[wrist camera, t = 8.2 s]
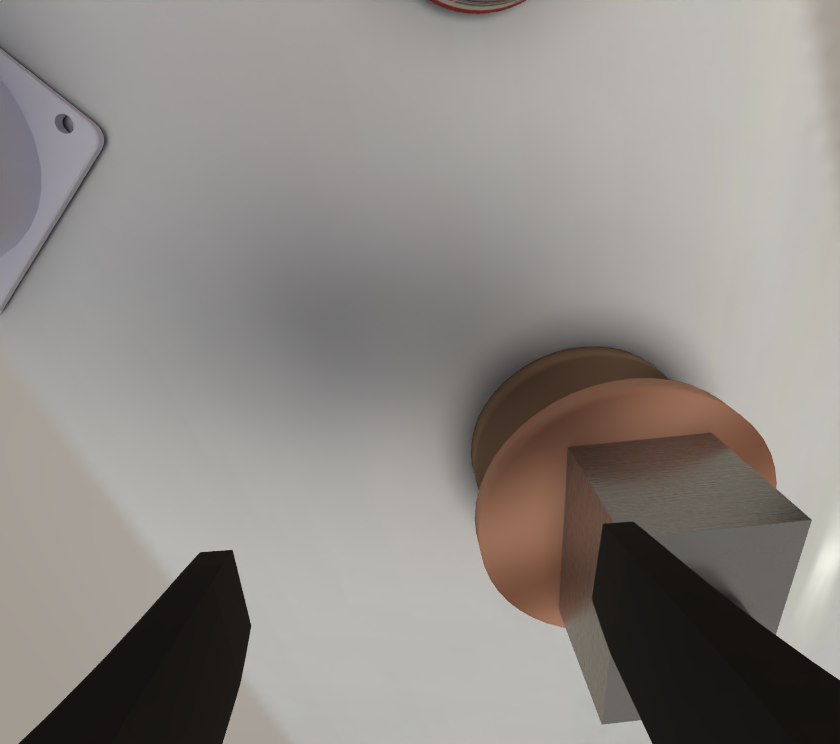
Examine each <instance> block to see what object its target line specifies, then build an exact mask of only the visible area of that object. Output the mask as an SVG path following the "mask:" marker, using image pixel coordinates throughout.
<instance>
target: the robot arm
mask: <svg viewBox="0 0 840 744" xmlns="http://www.w3.org/2000/svg"><path fill="white" fill-rule="evenodd" d="M66 115H67V116H69V117H70V118H71V120H72V121H73V124H74V129H73V131H72V132H71V133H69V132H67V130H66V129H65V128H64V126H63V123H62V122H63V118H64V117H65V116H66ZM103 145H104V136H103V134H102V132H101V129H100V128H99V127H98V126H97V125H96V124H95V123H94V122H93V121H92V120H90V119H89V118H88V117H87V116H85V115H84V114H83V113H82V112H80V111H79V110H78V109H76V108H75V107H74V106H73V105H71V104H70V103H69V102H68V101H66V100H65V99H64V98H63V97H61V96H60V95H59V94H58V93H56V92H55V91H54V90H53V89H51V88H50V87H49V86H47V85H46V84H45V83H44V82H42V81H41V80H40V79H39V78H37V77H36V76H35V75H34V74H32V73H31V72H30V71H29V70H27V69H26V68H25V67H24V66H22V65H21V64H20V63H18V62H17V61H16V60H15V59H13V58H12V57H11V56H10V55H8V54H7V53H6V52H5V51H3V50H2V49H1V48H0V313H1V312H2V310H3V309H4V307H5V306H6V304H7V302H8V301H9V299H10V298H11V296H12V294H13V293H14V291H15V289H16V288H17V286H18V285H19V283H20V281H21V280H22V278H23V276H24V275H25V273H26V272H27V270H28V268H29V267H30V265H31V263H32V262H33V260H34V259H35V257H36V255H37V254H38V252H39V250H40V249H41V247H42V246H43V244H44V242H45V241H46V239H47V237H48V236H49V234H50V233H51V231H52V229H53V228H54V226H55V224H56V223H57V221H58V220H59V218H60V216H61V215H62V213H63V211H64V210H65V208H66V207H67V205H68V203H69V202H70V200H71V198H72V197H73V195H74V194H75V192H76V190H77V189H78V187H79V186H80V184H81V182H82V181H83V179H84V177H85V176H86V174H87V173H88V171H89V169H90V168H91V166H92V164H93V163H94V161H95V160H96V158H97V156H98V155H99V153H100V151H101V150H102V148H103ZM592 602H593V605H594V608H595V611H596V614H597V617H598V620H599V623H600V626H601V629H602V632H603V635H604V637H605V640H606V643H607V646H608V649H609V651H610V654H611V656H612V658H613V660H614V663H615V665H616V667H617V669H618V671H619V673H620V676H621V678H622V680H623V682H624V684H625V686H626V688H627V691H628V693H629V695H630V697H631V699H632V701H633V703H634V705H635V708H636V710H637V712H638V714H639V716H640V718H641V720H642V722H643V724H644V727H645V729H646V731H647V733H648V735H649V737H650V739H651V741H652V743H653V744H840V680H839V679H837V678H836V677H834V676H833V675H831V674H830V673H828V672H827V671H825V670H824V669H822V668H821V667H820V666H818V665H817V664H815V663H814V662H812V661H811V660H809V659H808V658H807V657H805V656H804V655H802V654H801V653H800V652H798V651H797V650H796V649H794V648H793V647H791V646H790V645H789V644H787V643H786V642H785V641H783V640H782V639H780V638H779V637H778V636H776V635H775V634H774V633H772V632H771V631H769V630H768V629H767V628H765V627H764V626H763V625H761V624H760V623H759V622H757V621H756V620H755V619H753V618H752V617H751V616H750V615H748V614H747V613H746V612H744V611H743V610H742V609H740V608H739V607H738V606H737V605H735V604H734V603H733V602H731V601H730V600H729V599H728V598H726V597H725V596H724V595H723V594H721V593H720V592H719V591H718V590H716V589H715V588H714V587H713V586H711V585H710V584H709V583H708V582H706V581H705V580H704V579H703V578H701V577H700V576H699V575H698V574H697V573H695V572H694V571H693V570H692V569H690V568H689V567H688V566H687V565H686V564H684V563H683V562H682V561H681V560H680V559H678V558H677V557H676V556H675V555H674V554H672V553H671V552H670V551H669V550H668V549H666V548H665V547H664V546H663V545H662V544H660V543H659V542H658V541H657V540H656V539H654V538H653V537H652V536H651V535H650V534H648V533H647V532H646V531H645V530H643V529H642V528H641V527H640V526H638V525H637V524H636V523H635V522H619V523H605V524H603V527H602V533H601V540H600V547H599V554H598V560H597V567H596V574H595V581H594V587H593V594H592ZM250 629H251V623H250V619H249V615H248V611H247V607H246V603H245V599H244V595H243V591H242V587H241V583H240V579H239V574H238V570H237V566H236V562H235V558H234V554H233V550H226V551H212V552H200V553H199V554H198V555H197V556H196V557H195V558H194V560H193V561H192V562H191V563H190V564H189V565H188V566H187V567H186V568H185V569H184V571H183V572H182V573H181V574H180V575H179V576H178V577H177V578H176V580H175V581H174V582H173V583H172V584H171V585H170V587H169V588H168V589H167V590H166V591H165V592H164V593H163V594H162V596H161V597H160V598H159V599H158V600H157V601H156V602H155V603H154V605H153V606H152V607H151V608H150V609H149V610H148V611H147V612H146V613H145V615H144V616H143V617H142V618H141V619H140V620H139V621H138V622H137V623H136V625H135V626H134V627H133V628H132V629H131V630H130V631H129V632H128V633H127V634H126V635H125V637H123V639H122V640H121V641H120V642H119V643H118V644H117V645H116V646H115V647H114V648H113V649H112V650H111V652H110V653H109V654H108V655H107V656H106V657H105V658H104V659H103V660H102V661H101V662H100V663H99V664H98V665H97V666H96V668H94V670H93V671H92V672H91V673H90V674H89V675H88V676H87V677H86V678H85V679H84V680H83V681H82V682H81V683H80V684H79V685H78V686H77V687H76V688H75V689H74V690H73V691H72V692H71V693H70V694H69V695H68V696H67V697H66V698H65V699H64V700H63V701H62V702H61V703H60V704H59V705H58V706H57V707H56V708H55V709H54V710H53V711H52V712H51V713H50V714H49V715H48V716H47V717H46V718H45V719H44V720H43V721H42V722H41V723H40V724H39V725H38V726H37V727H36V728H35V729H33V730H32V731H31V732H30V733H29V734H28V735H27V736H26V737H25V738H24V739H23V740H22V741H21V742H20V743H19V744H222V743H223V740H224V736H225V733H226V730H227V726H228V723H229V720H230V717H231V713H232V710H233V707H234V703H235V700H236V696H237V693H238V690H239V686H240V683H241V678H242V673H243V667H244V662H245V657H246V652H247V646H248V641H249V635H250Z"/></svg>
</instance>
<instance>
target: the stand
mask: <svg viewBox="0 0 840 744" xmlns="http://www.w3.org/2000/svg"><path fill="white" fill-rule="evenodd" d="M702 433H713V434H714V435H715V436H716V437H717V438H718V439H719V440H721V441H722V442H723V443H724V444H725V445H726V446H727V447H729V448H730V449H731V450H732V451H733V452H734V453H736V454H737V455H738V456H739V457H740V458H741V459H742V460H744V461H745V462H746V463H747V464H748V465H749V466H750V467H752V468H753V469H754V470H755V471H756V472H757V473H758V474H760V475H761V476H762V477H763V478H764V479H765V480H767V481H768V482H769V483H770V484H771V485H772V486H773V487H775V488H776V483H777V482H776V473H775V466H774V463H773V459H772V456H771V453H770V451H769V449H768V447H767V445H766V443H765V441H764V439H763V438H762V437H761V435H760V434H759V433H758V432H757V430H756V429H755V428H754V427H753V426H752V425H751V424H750V423H749V422H748V421H747V420H746V419H744V418H743V417H742V416H741V415H740V414H738V413H737V412H736V411H734V410H733V409H732V408H730V407H729V406H728V405H726V404H725V403H724V402H722V401H721V400H719V399H718V398H716V397H715V396H713V395H711V394H710V393H708V392H706V391H704V390H701V389H699V388H697V387H694V386H692V385H689V384H685V383H681V382H677V381H673V380H669V379H668V378H667V377H666V376H665V375H663V374H662V373H661V372H660V371H659V370H657V369H656V368H655V367H654V366H652V365H651V364H650V363H648V362H646V361H645V360H643V359H642V358H640V357H638V356H635V355H633V354H631V353H628V352H625V351H621V350H617V349H613V348H605V347H581V348H573V349H568V350H564V351H560V352H556V353H553V354H550V355H548V356H545V357H543V358H540V359H538V360H536V361H534V362H532V363H531V364H529V365H527V366H525V367H524V368H522V369H521V370H519V371H518V372H516V373H515V374H514V375H513V376H511V377H510V378H509V379H508V380H507V381H506V382H504V383H503V384H502V385H501V386H500V388H499V389H498V390H497V391H496V392H495V393H494V394H493V396H492V397H491V398H490V400H489V401H488V403H487V404H486V405H485V407H484V409H483V411H482V413H481V415H480V416H479V419H478V422H477V424H476V427H475V430H474V434H473V439H472V448H471V457H472V466H473V470H474V474H475V478H476V482H477V485H478V489H479V492H478V496H477V501H476V509H475V525H476V534H477V538H478V542H479V547H480V551H481V555H482V559H483V562H484V566H485V569H486V571H487V573H488V575H489V577H490V579H491V581H492V582H493V584H494V585H495V587H496V588H497V590H498V591H499V592H500V593H501V594H502V595H503V596H504V597H505V598H506V599H507V601H508V602H510V603H511V604H512V605H514V606H515V607H516V608H518V609H519V610H520V611H522V612H524V613H526V614H528V615H529V616H531V617H533V618H535V619H538V620H540V621H543V622H545V623H548V624H552V625H556V626H560V627H564V628H565V625H564V622H563V620H562V617H561V614H560V612H559V596H560V578H561V560H562V542H563V524H564V506H565V488H566V470H567V452H568V447H572V446H582V445H592V444H602V443H612V442H622V441H632V440H642V439H652V438H662V437H672V436H682V435H692V434H702Z"/></svg>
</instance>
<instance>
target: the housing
mask: <svg viewBox="0 0 840 744" xmlns="http://www.w3.org/2000/svg"><path fill="white" fill-rule="evenodd" d="M811 521H812V520H811V519H810V518H809V517H808V516H807V515H806V514H804V513H803V512H802V511H801V510H800V509H799V508H798V507H796V506H795V505H794V504H793V503H792V502H791V501H789V500H788V499H787V498H786V497H785V496H784V495H783V494H781V493H780V492H779V491H778V490H777V489H776V488H775V487H773V486H772V485H771V484H770V483H769V482H768V481H767V480H765V479H764V478H763V477H762V476H761V475H760V474H758V473H757V472H756V471H755V470H754V469H753V468H752V467H750V466H749V465H748V464H747V463H746V462H745V461H744V460H742V459H741V458H740V457H739V456H738V455H737V454H736V453H734V452H733V451H732V450H731V449H730V448H729V447H727V446H726V445H725V444H724V443H723V442H722V441H721V440H719V439H718V438H717V437H716V436H715V435H714V434H713V433H702V434H692V435H682V436H672V437H662V438H652V439H642V440H632V441H622V442H612V443H602V444H592V445H582V446H572V447H568V452H567V470H566V488H565V506H564V524H563V542H562V560H561V578H560V596H559V612H560V614H561V617H562V620H563V622H564V625H565V628H566V630H567V633H568V636H569V638H570V641H571V643H572V646H573V649H574V651H575V654H576V657H577V659H578V662H579V665H580V667H581V670H582V673H583V675H584V678H585V681H586V683H587V686H588V689H589V691H590V694H591V697H592V699H593V702H594V705H595V707H596V710H597V713H598V715H599V718H600V721H601V723H602V724H610V723H619V722H628V721H636V720H641V718H640V716H639V714H638V712H637V710H636V708H635V705H634V703H633V701H632V699H631V697H630V695H629V693H628V691H627V688H626V686H625V684H624V682H623V680H622V678H621V676H620V673H619V671H618V669H617V667H616V665H615V663H614V660H613V658H612V656H611V654H610V651H609V649H608V646H607V643H606V640H605V637H604V635H603V632H602V629H601V626H600V623H599V620H598V617H597V614H596V611H595V608H594V605H593V602H592V594H593V587H594V581H595V574H596V567H597V560H598V554H599V547H600V540H601V533H602V527H603V524H605V523H619V522H635V523H636V524H637V525H638V526H640V527H641V528H642V529H643V530H645V531H646V532H647V533H648V534H650V535H651V536H652V537H653V538H654V539H656V540H657V541H658V542H659V543H660V544H662V545H663V546H664V547H665V548H666V549H668V550H669V551H670V552H671V553H672V554H674V555H675V556H676V557H677V558H678V559H680V560H681V561H682V562H683V563H684V564H686V565H687V566H688V567H689V568H690V569H692V570H693V571H694V572H695V573H697V574H698V575H699V576H700V577H701V578H703V579H704V580H705V581H706V582H708V583H709V584H710V585H711V586H713V587H714V588H715V589H716V590H718V591H719V592H720V593H721V594H723V595H724V596H725V597H726V598H728V599H729V600H730V601H731V602H733V603H734V604H735V605H737V606H738V607H739V608H740V609H742V610H743V611H744V612H746V613H747V614H748V615H750V616H751V617H752V618H753V619H755V620H756V621H757V622H759V623H760V624H761V625H763V626H764V627H765V628H767V629H768V630H769V631H771V632H772V633H774V634H775V635H776V632H777V629H778V626H779V622H780V619H781V616H782V613H783V610H784V606H785V603H786V600H787V597H788V594H789V591H790V587H791V584H792V581H793V578H794V575H795V572H796V568H797V565H798V562H799V559H800V556H801V552H802V549H803V546H804V543H805V540H806V537H807V533H808V530H809V527H810V524H811Z"/></svg>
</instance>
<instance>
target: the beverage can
mask: <svg viewBox="0 0 840 744" xmlns="http://www.w3.org/2000/svg"><path fill="white" fill-rule="evenodd" d="M430 1H432V2H434V3H436V4H438V5H440V6H442V7H445V8H447V9H451V10H454V11H458V12H464V13H477V14H480V13H490V12H496V11H501V10H504V9H507V8H510V7H513V6H515V5H518V4H520V3H522V2H524V1H526V0H430Z"/></svg>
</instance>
